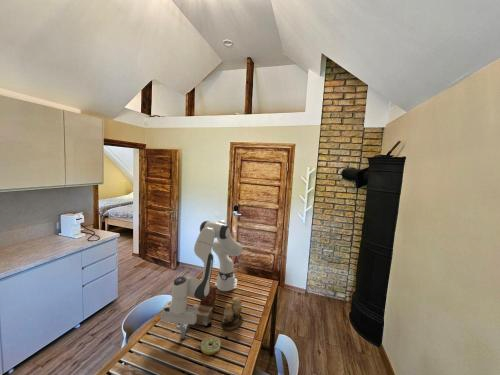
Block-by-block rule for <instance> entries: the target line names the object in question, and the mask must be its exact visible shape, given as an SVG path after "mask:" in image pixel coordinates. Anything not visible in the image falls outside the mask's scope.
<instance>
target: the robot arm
mask: <svg viewBox="0 0 500 375" xmlns="http://www.w3.org/2000/svg"><path fill="white" fill-rule="evenodd" d="M215 239H217V240H215ZM193 251H194V254H195V255H196V257H198V259H200V260H201V261H202V263H203V271H202V276H201V279H198V278H196V277H192V276H184V275H183V276H178V277H175V279H174V280H173V282H172V287H171V300H168V301H167V302H166V303H165V304H164V305H163V306H162V311H161V314H160V321H161V322H162V323H171V324H172V323H173V325H174V326H175V331H176V330H178V331H179V330H180V331H181V326H182V325H185V324H192V325H195V324H196V321H197V309H196V308H194V307H193V306H191V307H190V306H188V302H189V301H188V300H189V299H188V296H191V297H194V298H195V299H198V300H199V301H201V299H203V298H205V297H206V296H207V295H208V294H209V290H210V285H211V278H212V272H213V267H214V266H213V265H214V255H213V253H214V254H215V255H216V256H217V257H218V258H217V259H218V260H219V261H218V262H219V269H218V275H217V276H216V282H215V283H214V287H215V288H217V290H219V291H221V292H229V291H232V290H236V289H237V286H238V279H237V278H236V274H235V273H234V270H235V268H234V261H233V259H232V258H231V257H230V256H232V257H239V256H240V255H241V254H242V253H243V245H242V244H241V243H239V242H238V241H236V240H235V239H234V237H233V236H232V234H231V228H230V226H229V225H228V223H227V222H226V221H225V220H224V219H223V220H222V219H221V220H218V221H210V220H204V221H202V222H201V223H200V226H199V234H198V236H197V238H196V241H195V244H194V247H193Z"/></svg>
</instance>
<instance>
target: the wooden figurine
mask: <svg viewBox="0 0 500 375" xmlns="http://www.w3.org/2000/svg"><path fill="white" fill-rule="evenodd" d="M216 290H217V289H216V286H213V285H211V284H210V290H209V294H208V295H207V296H206V297H205V298H203V299H201V300H200V301H199V302H200V303H199V305H204V306H210V307H213V309H212V312H214V310H215V309H216V302H215V301H216V299H217V295H216V294H217V292H216Z"/></svg>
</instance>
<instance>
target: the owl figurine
mask: <svg viewBox="0 0 500 375" xmlns="http://www.w3.org/2000/svg"><path fill="white" fill-rule="evenodd" d="M231 302H232V304H230V303H227V304H226V305H225V308H224V313H223V318H222V320H221V323H220V327H221V329H222V330H223V331H224V332H227V333H228V332H234V331H235V330H238V329H239V328H240V326H242V324H243V321H244V317H243V316H242V315H241V314H242V313H241V312H242V309H243V304H242V300H241V297H239V296H236V297H234V296H233V298H231Z"/></svg>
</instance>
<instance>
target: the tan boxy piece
mask: <svg viewBox="0 0 500 375" xmlns="http://www.w3.org/2000/svg"><path fill="white" fill-rule="evenodd" d="M192 307H194V308H196V309H197V321H196V323H195V324H197V325H202V326H204V327H205V326H208V325H209V323H210V322H211V319H212V317H213V316H212V315H213V311H212V309H213V307H210V306H204V305H200V303H199V304H197V303H194V304H193V306H192ZM213 310H214V309H213ZM191 326H193V324H189V325H188V327H187V329H190V328H191Z"/></svg>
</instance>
